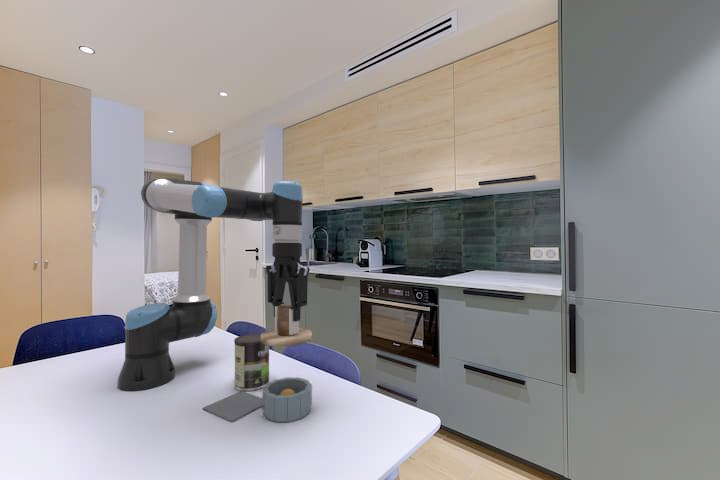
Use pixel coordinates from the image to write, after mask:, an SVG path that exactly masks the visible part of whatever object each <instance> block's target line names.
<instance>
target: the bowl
mask: <svg viewBox="0 0 720 480" xmlns="http://www.w3.org/2000/svg"><path fill="white" fill-rule="evenodd" d="M312 386H313V385H312V383H311V381H309V380H308V379H305V378H302V377H289V376H287V377H283V378H282V377H281V378H279V379H277V378H276V379H274V380H272V381H269V383H267V384H266V385H265V387H263V388H262V398H263V407H262V410H263V413H262V414H263V417H264V418H265V419H266V420H267V421H270V422H273V423H282V424H284V423H292V422H296V421H299V420H302V419H304V418H305V417H307V416H308V415H309V414H310V413H311V411H312V405H313V402H312V401H313V396H312V395H313V387H312Z"/></svg>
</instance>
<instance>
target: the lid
mask: <svg viewBox="0 0 720 480" xmlns="http://www.w3.org/2000/svg"><path fill="white" fill-rule="evenodd" d="M282 305H283V306H279V307H278V332H275V328H272V329H268V330H265V331H264V332H262V333H260V334H261V338H260V341H261V342H262V343H263V344H265V345H269V347H270V346H271V347H292V346H299V345H303V344H306V343H309V342H310V341H312V338H313V332H312V330H310V329H307V328H303V327H302V328H301V327H299V333H296V334H293V335H289V309H290V307H292V306H291V304H286V305H285V304H282Z"/></svg>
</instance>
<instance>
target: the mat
mask: <svg viewBox="0 0 720 480" xmlns="http://www.w3.org/2000/svg"><path fill="white" fill-rule="evenodd" d="M260 408H263V397H260V396H258V395H255V394H252V393H248V392H247V391H241V390H239V391H237V392H235V393H233V394H231V395H228V396H227V397H224V398H222V399H219V400H217V401H214V402H213V403H211V404H209V405H206V406H204V407H202V411H205V412H207V413H209V414H212V415H214V416H216V417H218V418H220V419H223V420H224V421H227V422H229V423H234V422H236V421H238V420H240V419H242V418H244V417H245V416H247V415H249V414H251V413H253V412H255V411H257V410H259V409H260Z"/></svg>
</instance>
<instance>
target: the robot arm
mask: <svg viewBox="0 0 720 480" xmlns="http://www.w3.org/2000/svg"><path fill="white" fill-rule="evenodd" d="M140 196H141V200H142V202H143V203H144V205H145V206H146V207H147V208H148V209H151V210H153V211H155V212H158V213H163V214H171V215H174V221H175V222H176V223H177V224H178V225H179V226H178V227H179V230H178V231H179V236H178V237H179V239H178V273H177V274H178V278H177V279H178V280H177V281H178V282H177V285H178V286H177V287H178V288H177V295H176V296H175V297H174V298H173V299H172V305H171V306H170V305H169V303H167V302H157V303H151V304H145V305H141V306H138V307H135V308H134V309H133V308H132V309H131V310H129V311H128V312H127V313H126V315H125V324H124V330H125V331H124V335H125V336H124V337H125V338H124V339H125V340H124V360H123V361H124V362H123V364H122V367H121V369H120V372H119V375H118V378H117V388H118V389H120V390H122V391H129V392H131V391H143V390H147V389H148V390H149V389H151V388H152V389H153V388H156V387H159V386H162V385H164V384H168V383H169V382H171V381H172V380H174V378H175V377H176V368H175V366H174V363H173V360H172V358H171V355H170V344H171V343H173V342H178V341H182V340H188V339H191V338H198V337H200V336H203V335H207V334H209V333H210V332H211V331H212V330H213V329H214V327H215V326H216V323H217V319H218V311H217V308H216V304H215V303H214V302H213V301H212V300H211V297H210V296H209V295H208V294H207V293H206V290H207V289H206V284H207V280H206V279H207V249H208V248H207V246H208V244H207V243H208V241H207V240H208V239H207V238H208V237H207V236H208V226H209V224H210V223H212V222H213V218H221V219H235V220H236V219H238V220H248V221H253V222H263V221H271V220H272V240H273V241H274V242H273V243H272V244H271V251H272V252H271V253H272V254H271V255H272V257H273V258H274V261H273V264H269V265H266V266H265V271H266V274H267V303H268V304H272V306H273V318H274V329H275V332H278V307H279V306H283V305H285V302H284V295H285V289H286V284H287V285H288V291H289V297H290V298H289V299H290V305H291V306H292V307H290V309H289V335H293V334H296V333H299V328H300V326H299V324H300V321H301V310H302V309H301V308H303V307H306V306H307V305H308V284H309V283H308V281H309V279H308V278H309V277H308V276H309V274H310V267H309V266H304V265H302V263H301V257H302V256H303V244H302V242H301V241H302V240H303V201H304V199H303V189H302V184H301V183H299V182H295V181H290V180H289V181H288V180H287V181H286V180H285V181H283V180H280V181H275V182H274V183H273V184H272V189H271V191H269V192H257V191H250V190H244V189H236V188H229V187H223V186H217V185H213V184H209V183H205V182H204V183H203V182H200V181H192V180H187V179H186V180H184V179H178V178H171V177H156V178H155V177H154V178H153V179H150V180H148V181H147V182H145V183H144V185H143V186H142V187H141V190H140Z"/></svg>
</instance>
